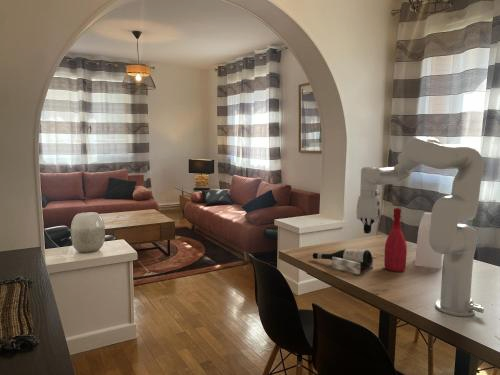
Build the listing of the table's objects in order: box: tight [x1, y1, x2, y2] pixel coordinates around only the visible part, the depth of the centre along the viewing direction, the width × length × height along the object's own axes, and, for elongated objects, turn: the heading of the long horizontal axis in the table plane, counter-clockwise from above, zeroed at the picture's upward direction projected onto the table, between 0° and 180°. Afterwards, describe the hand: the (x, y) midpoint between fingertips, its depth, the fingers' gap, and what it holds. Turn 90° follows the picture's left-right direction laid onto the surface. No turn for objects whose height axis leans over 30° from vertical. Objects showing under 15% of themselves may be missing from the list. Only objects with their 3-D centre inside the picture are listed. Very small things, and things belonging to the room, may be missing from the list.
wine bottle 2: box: [383, 207, 408, 273], centre depth 180 cm, size 10×10×30 cm
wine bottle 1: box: [312, 248, 373, 267], centre depth 185 cm, size 8×8×30 cm
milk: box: [414, 212, 443, 270], centre depth 188 cm, size 12×12×26 cm
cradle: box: [331, 256, 374, 277], centre depth 181 cm, size 14×14×6 cm
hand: (367, 232), depth 174 cm, fingers closed
